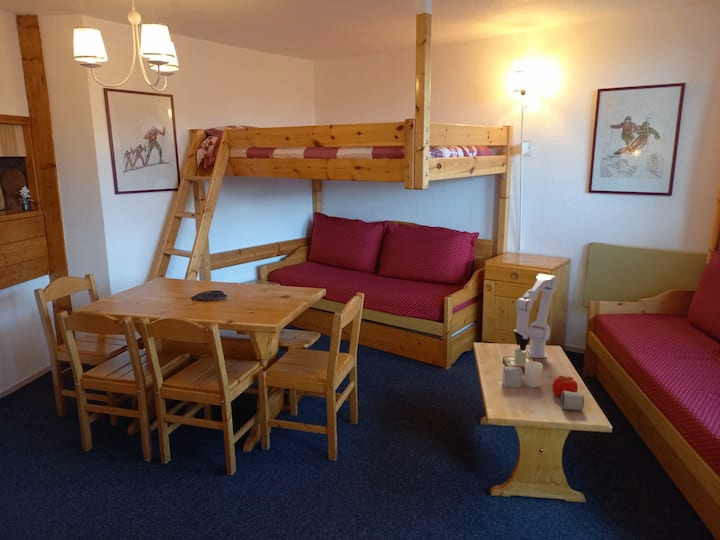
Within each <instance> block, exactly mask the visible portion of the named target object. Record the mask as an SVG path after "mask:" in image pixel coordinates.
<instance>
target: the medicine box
mask: <svg viewBox="0 0 720 540" xmlns="http://www.w3.org/2000/svg"><path fill="white" fill-rule="evenodd" d="M522 381H523V372H522V370H521V368H520V367H506V366H503V372H502V385H503V387H504V388H516V389H517V388H522Z"/></svg>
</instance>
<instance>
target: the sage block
mask: <svg viewBox="0 0 720 540" xmlns="http://www.w3.org/2000/svg"><path fill="white" fill-rule="evenodd" d="M514 357H515V362H516V363H521V364H525V363H526V357H527V350H525V351H521V350H520V348H515V350H514Z"/></svg>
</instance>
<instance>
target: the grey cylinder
mask: <svg viewBox="0 0 720 540" xmlns="http://www.w3.org/2000/svg"><path fill="white" fill-rule="evenodd" d="M560 406H561V409H562V410H568V411H578V412H579V411H582V410H584V406H585V397H584V395H583V394H582V393H580V392H576V393H575V392H569V391H563V392H562V395H561V397H560Z"/></svg>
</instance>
